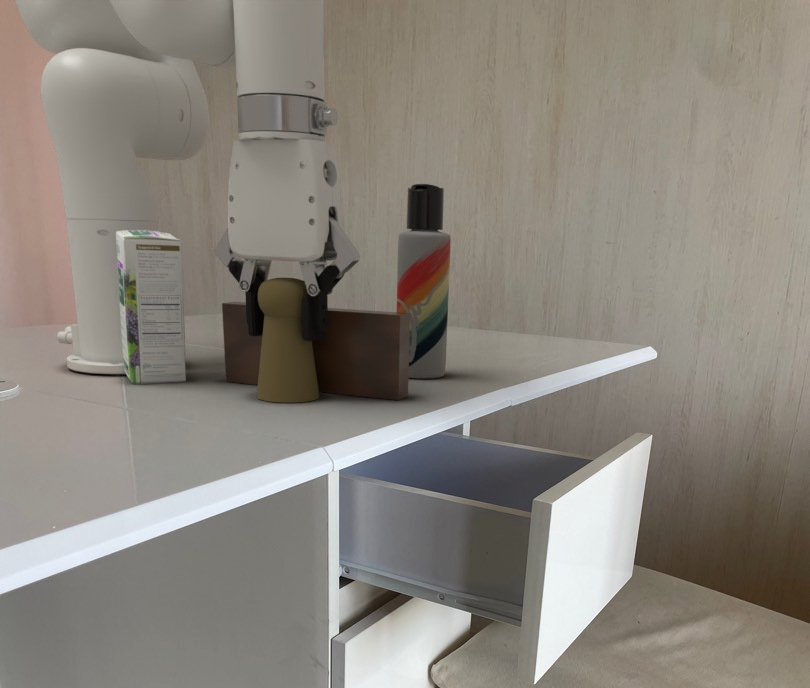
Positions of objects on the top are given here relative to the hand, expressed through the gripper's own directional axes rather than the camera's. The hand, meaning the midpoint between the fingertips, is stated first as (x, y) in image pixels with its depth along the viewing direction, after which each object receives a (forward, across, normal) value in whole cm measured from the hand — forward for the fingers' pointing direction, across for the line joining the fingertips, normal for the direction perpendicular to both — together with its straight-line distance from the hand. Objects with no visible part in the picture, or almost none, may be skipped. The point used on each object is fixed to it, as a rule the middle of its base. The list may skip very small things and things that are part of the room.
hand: (287, 335), depth 79 cm
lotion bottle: (+6, -6, -19) cm, 21 cm away
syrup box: (+6, +18, -2) cm, 19 cm away
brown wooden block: (+6, 0, -5) cm, 8 cm away
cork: (+6, 0, 0) cm, 6 cm away
